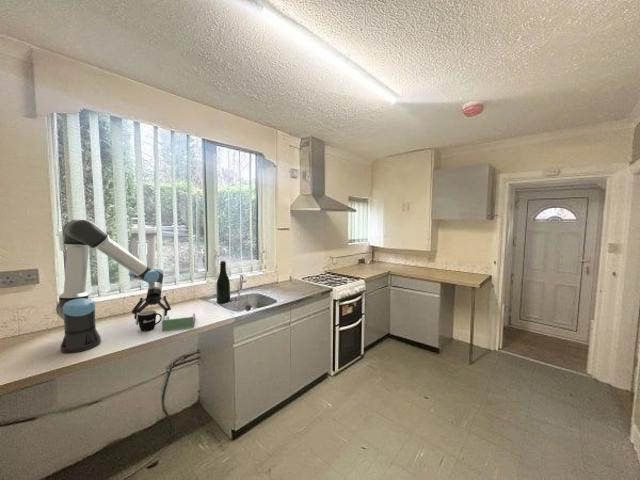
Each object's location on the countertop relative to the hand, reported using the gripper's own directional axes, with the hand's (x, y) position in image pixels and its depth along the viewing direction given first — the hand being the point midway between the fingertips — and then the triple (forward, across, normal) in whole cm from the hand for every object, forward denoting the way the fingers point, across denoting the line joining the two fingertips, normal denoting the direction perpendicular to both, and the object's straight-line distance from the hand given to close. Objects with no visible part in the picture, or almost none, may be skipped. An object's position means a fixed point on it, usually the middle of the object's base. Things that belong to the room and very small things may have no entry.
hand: (150, 322), depth 153 cm
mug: (+2, 0, -5) cm, 5 cm away
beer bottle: (-28, -42, -35) cm, 61 cm away
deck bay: (+1, -15, -6) cm, 16 cm away
